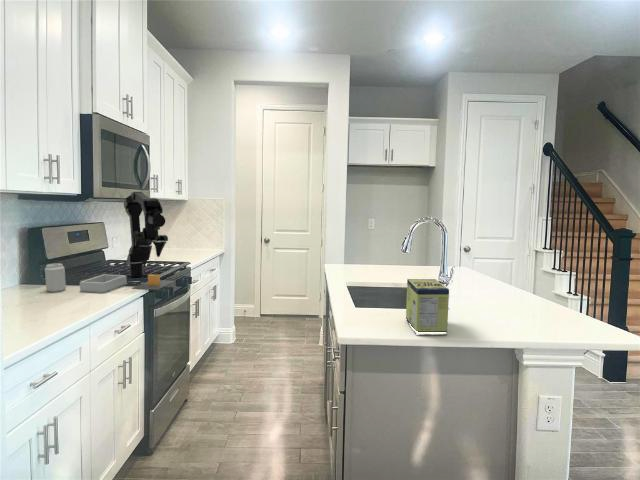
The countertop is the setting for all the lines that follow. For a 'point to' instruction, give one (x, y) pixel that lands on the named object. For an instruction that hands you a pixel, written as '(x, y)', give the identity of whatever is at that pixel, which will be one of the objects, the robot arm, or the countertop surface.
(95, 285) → the tub
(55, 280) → the can
